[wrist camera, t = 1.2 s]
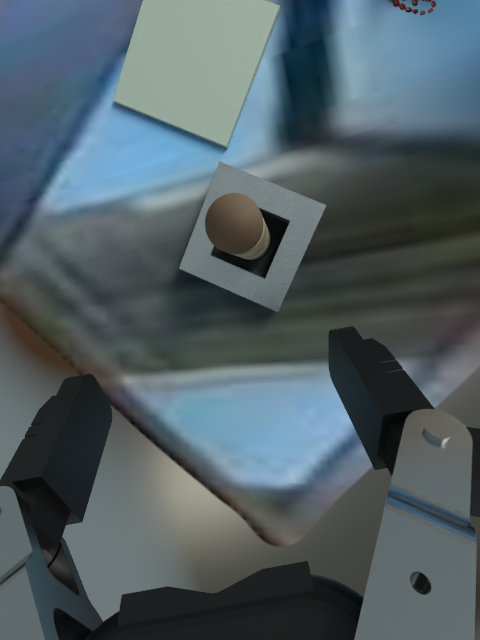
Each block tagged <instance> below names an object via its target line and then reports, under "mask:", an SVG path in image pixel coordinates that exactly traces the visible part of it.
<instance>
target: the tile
mask: <svg viewBox="0 0 480 640" xmlns="http://www.w3.org/2000/svg"><path fill="white" fill-rule="evenodd" d="M279 12H280V6H279V5H276V4H273V3H271V2H268V1H265V0H143V2H142V5H141V9H140V12H139V15H138V19H137V22H136V25H135V29H134V32H133V35H132V38H131V42H130V45H129V48H128V52H127V55H126V58H125V61H124V65H123V68H122V71H121V75H120V78H119V81H118V84H117V88H116V91H115V94H114V98H113V101H114V102H115V103H116V104H119V105H121V106H123V107H126V108H128V109H131V110H133V111H136V112H138V113H141V114H143V115H146V116H148V117H151V118H153V119H156V120H158V121H160V122H163V123H165V124H168V125H170V126H173V127H175V128H178V129H180V130H183V131H185V132H188V133H190V134H193V135H195V136H197V137H200V138H202V139H205V140H207V141H210V142H212V143H215V144H217V145H220V146H222V147H225V148H227V149H228V146H229V143H230V141H231V138H232V136H233V133H234V130H235V128H236V125H237V122H238V120H239V117H240V115H241V112H242V109H243V107H244V104H245V101H246V99H247V96H248V93H249V91H250V88H251V86H252V83H253V80H254V78H255V75H256V72H257V70H258V67H259V65H260V62H261V59H262V57H263V54H264V51H265V49H266V46H267V44H268V41H269V38H270V36H271V33H272V30H273V28H274V25H275V22H276V20H277V17H278V15H279Z"/></svg>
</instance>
